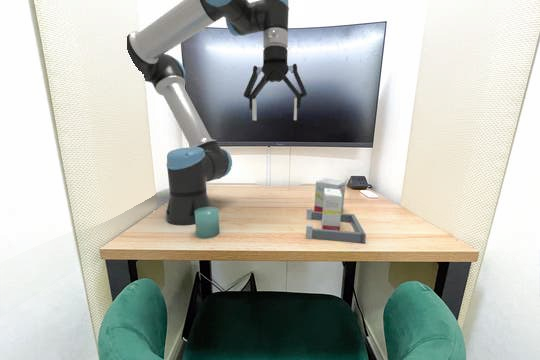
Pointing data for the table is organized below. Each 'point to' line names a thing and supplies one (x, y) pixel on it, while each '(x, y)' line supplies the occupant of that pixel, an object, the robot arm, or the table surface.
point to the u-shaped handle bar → (335, 235)
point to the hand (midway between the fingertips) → (274, 120)
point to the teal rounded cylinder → (207, 222)
